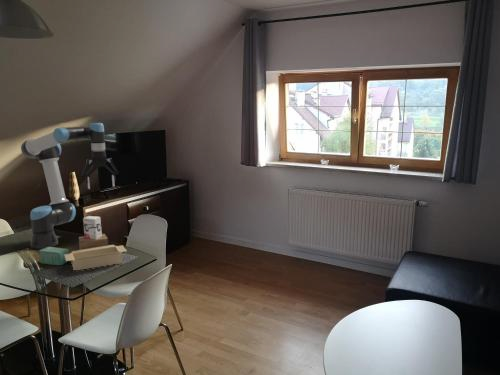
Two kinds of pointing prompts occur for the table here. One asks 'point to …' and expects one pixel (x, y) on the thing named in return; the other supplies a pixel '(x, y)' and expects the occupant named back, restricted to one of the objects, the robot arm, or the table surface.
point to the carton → (95, 257)
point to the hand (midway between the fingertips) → (101, 187)
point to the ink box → (92, 227)
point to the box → (53, 255)
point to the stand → (92, 242)
